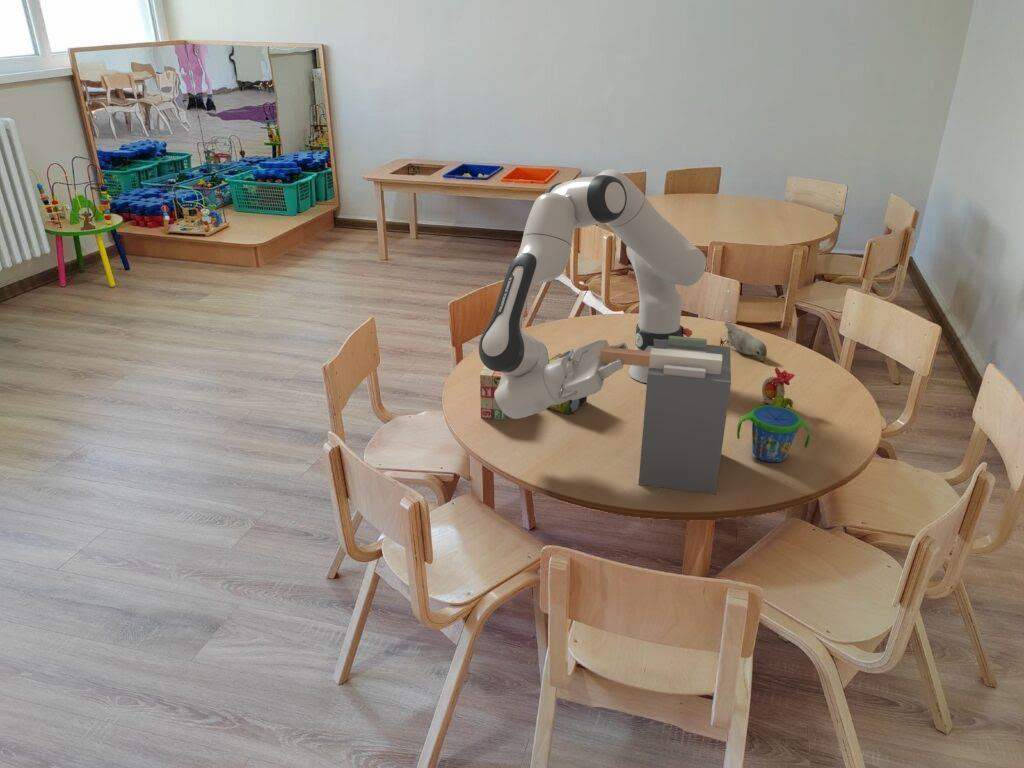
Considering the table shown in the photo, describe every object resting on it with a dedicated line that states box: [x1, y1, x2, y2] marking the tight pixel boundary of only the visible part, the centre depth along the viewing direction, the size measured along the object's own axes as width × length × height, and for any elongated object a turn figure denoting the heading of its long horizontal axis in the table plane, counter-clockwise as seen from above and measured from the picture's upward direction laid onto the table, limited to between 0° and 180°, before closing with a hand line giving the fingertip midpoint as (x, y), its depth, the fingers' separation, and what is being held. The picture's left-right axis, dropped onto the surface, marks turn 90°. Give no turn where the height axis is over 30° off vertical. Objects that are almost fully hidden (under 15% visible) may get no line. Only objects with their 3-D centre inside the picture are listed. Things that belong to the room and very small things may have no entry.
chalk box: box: [547, 353, 588, 416], centre depth 195 cm, size 9×9×15 cm
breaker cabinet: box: [638, 336, 732, 496], centre depth 164 cm, size 16×18×28 cm
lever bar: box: [600, 347, 722, 375], centre depth 156 cm, size 24×3×3 cm, turn 76°
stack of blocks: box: [479, 365, 507, 421], centre depth 197 cm, size 21×6×12 cm, turn 170°
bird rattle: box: [761, 366, 795, 409], centre depth 194 cm, size 6×11×9 cm
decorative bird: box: [719, 321, 768, 362], centre depth 225 cm, size 5×16×8 cm, turn 32°
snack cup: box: [736, 404, 811, 463], centre depth 173 cm, size 16×10×10 cm
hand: (624, 354), depth 158 cm, fingers open, 7 cm apart
